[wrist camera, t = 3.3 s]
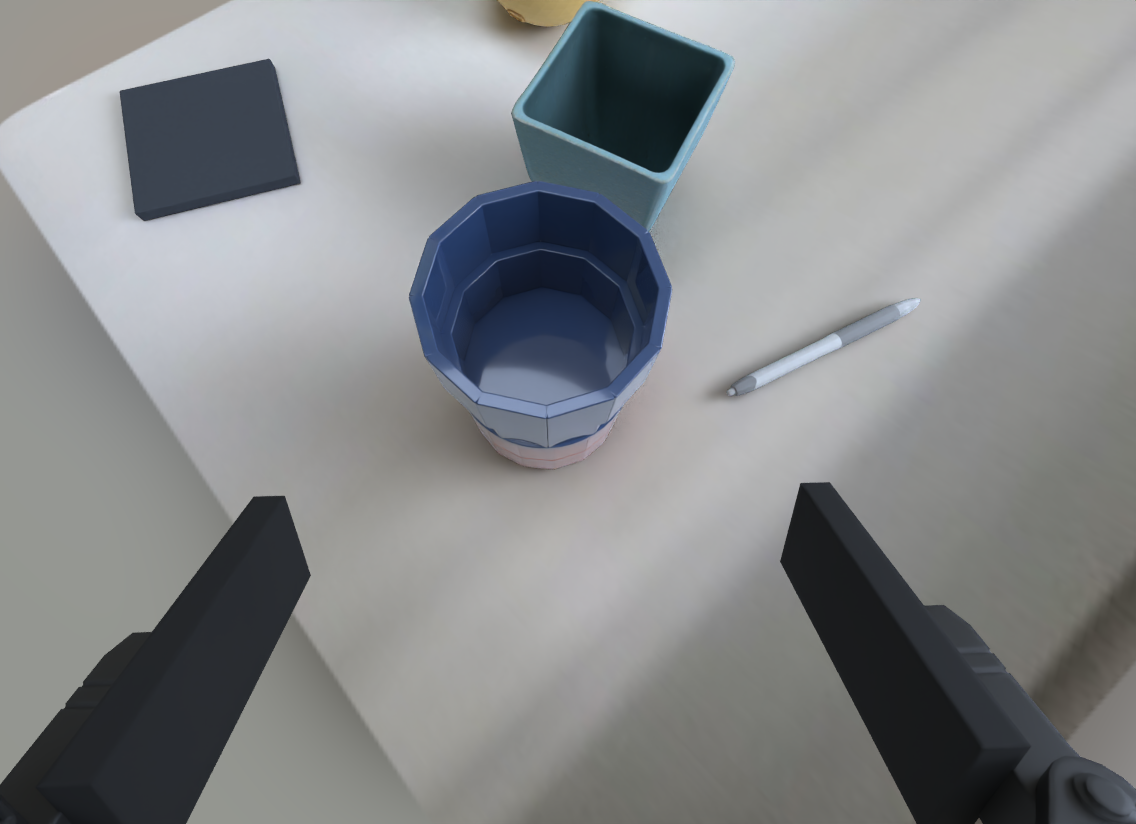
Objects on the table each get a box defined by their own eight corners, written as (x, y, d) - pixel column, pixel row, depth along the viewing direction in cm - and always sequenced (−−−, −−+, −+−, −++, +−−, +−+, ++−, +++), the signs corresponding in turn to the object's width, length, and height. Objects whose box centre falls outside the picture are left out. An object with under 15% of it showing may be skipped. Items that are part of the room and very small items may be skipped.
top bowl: (478, 481, 24) (449, 448, 18) (430, 307, 27) (386, 217, 20) (665, 423, 25) (707, 371, 19) (603, 259, 28) (620, 158, 21)
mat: (143, 221, 34) (134, 213, 34) (127, 100, 37) (118, 90, 36) (301, 183, 35) (295, 175, 35) (275, 68, 38) (269, 58, 37)
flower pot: (518, 223, 35) (506, 112, 26) (579, 126, 37) (587, -6, 29) (639, 280, 34) (668, 184, 26) (695, 177, 36) (739, 57, 28)
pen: (718, 391, 32) (726, 383, 31) (906, 299, 34) (920, 288, 33) (727, 405, 32) (734, 398, 31) (915, 312, 34) (930, 302, 33)
